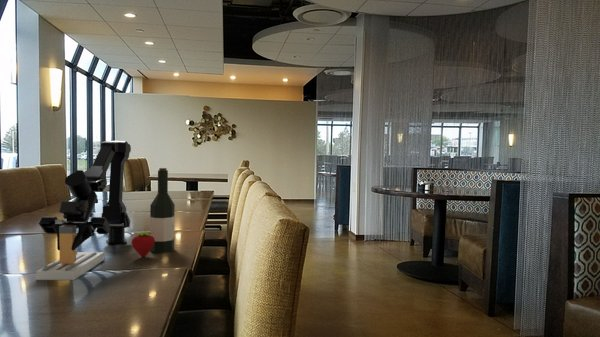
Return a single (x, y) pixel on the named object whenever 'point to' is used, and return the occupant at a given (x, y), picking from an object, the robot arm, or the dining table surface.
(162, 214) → the wine bottle
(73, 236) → the fader lever
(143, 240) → the strawberry
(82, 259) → the dimmer console
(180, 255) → the dining table surface
